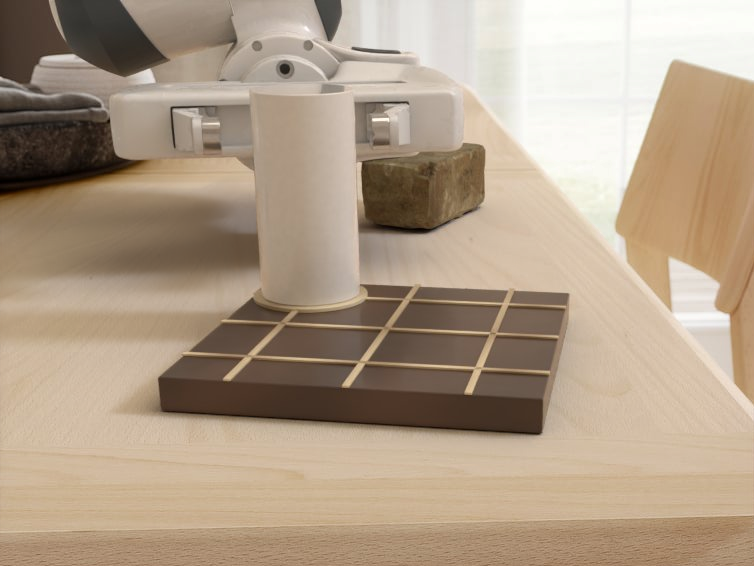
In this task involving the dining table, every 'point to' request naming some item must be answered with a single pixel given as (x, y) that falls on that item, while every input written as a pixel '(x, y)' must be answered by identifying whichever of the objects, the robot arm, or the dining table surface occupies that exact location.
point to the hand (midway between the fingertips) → (297, 136)
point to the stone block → (424, 187)
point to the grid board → (382, 359)
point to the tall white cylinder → (306, 192)
